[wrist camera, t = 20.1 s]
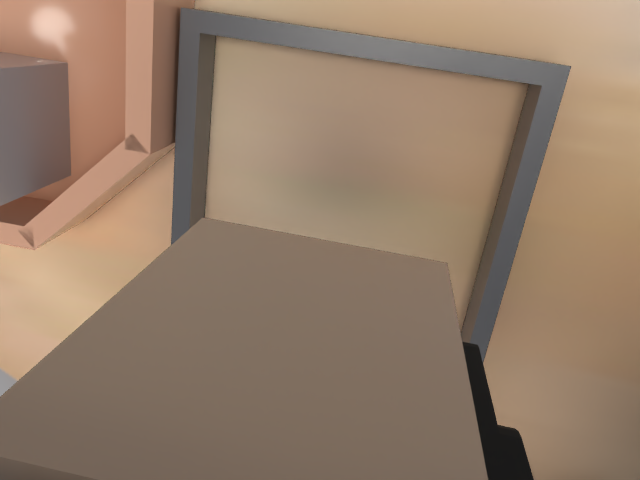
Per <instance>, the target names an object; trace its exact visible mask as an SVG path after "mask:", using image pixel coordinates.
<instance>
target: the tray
mask: <svg viewBox="0 0 640 480" xmlns="http://www.w3.org/2000/svg"><path fill="white" fill-rule="evenodd" d="M216 36H223V37H229V38H236V39H242V40H249V41H255V42H262V43H268V44H275V45H281V46H288V47H294V48H301V49H307V50H314V51H320V52H327V53H333V54H340V55H346V56H353V57H359V58H366V59H372V60H379V61H385V62H392V63H398V64H405V65H411V66H418V67H424V68H431V69H437V70H444V71H450V72H457V73H463V74H470V75H476V76H483V77H489V78H496V79H502V80H509V81H515V82H522V83H528V84H529V87H528V90H527V94H526V98H525V101H524V105H523V109H522V112H521V116H520V120H519V123H518V127H517V130H516V134H515V138H514V141H513V145H512V149H511V152H510V156H509V160H508V163H507V167H506V171H505V174H504V178H503V182H502V185H501V189H500V193H499V196H498V200H497V204H496V207H495V211H494V215H493V218H492V222H491V226H490V229H489V233H488V237H487V240H486V244H485V248H484V251H483V255H482V259H481V262H480V266H479V270H478V273H477V277H476V281H475V284H474V288H473V292H472V295H471V299H470V303H469V306H468V310H467V314H466V317H465V321H464V324H463V328H462V332H461V338H462V342H467V343H472V344H477V345H478V346H479V349H480V354H481V358H482V362H483V361H484V358H485V354H486V351H487V348H488V344H489V341H490V337H491V334H492V331H493V327H494V324H495V321H496V317H497V314H498V311H499V307H500V304H501V300H502V297H503V294H504V290H505V287H506V284H507V280H508V277H509V274H510V270H511V267H512V263H513V260H514V257H515V253H516V250H517V247H518V243H519V240H520V237H521V233H522V230H523V227H524V223H525V220H526V216H527V213H528V210H529V206H530V203H531V200H532V196H533V193H534V190H535V186H536V183H537V179H538V176H539V173H540V169H541V166H542V163H543V159H544V156H545V153H546V149H547V146H548V143H549V139H550V136H551V132H552V129H553V126H554V122H555V119H556V116H557V112H558V109H559V106H560V102H561V99H562V95H563V92H564V89H565V85H566V82H567V79H568V75H569V72H570V69H571V66H566V65H561V64H555V63H549V62H542V61H536V60H529V59H522V58H516V57H509V56H502V55H496V54H489V53H483V52H476V51H469V50H463V49H456V48H449V47H443V46H436V45H429V44H423V43H416V42H410V41H403V40H396V39H390V38H383V37H376V36H370V35H363V34H357V33H350V32H343V31H337V30H330V29H323V28H317V27H310V26H303V25H297V24H290V23H284V22H277V21H270V20H264V19H257V18H250V17H244V16H237V15H230V14H224V13H217V12H211V11H204V10H197V9H189V8H181V12H180V37H179V62H178V87H177V112H176V137H175V162H174V187H173V212H172V237H171V245H172V244H173V243H174V242H175V241H177V240H178V239H179V238H180V237H181V236H182V235H183V234H184V233H186V232H187V231H188V230H189V229H190V228H191V227H192V226H193V225H195V224H196V223H197V222H198V221H199V220H200V219H201V218H204V215H205V199H206V184H207V168H208V152H209V136H210V120H211V105H212V89H213V73H214V57H215V42H216Z"/></svg>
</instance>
